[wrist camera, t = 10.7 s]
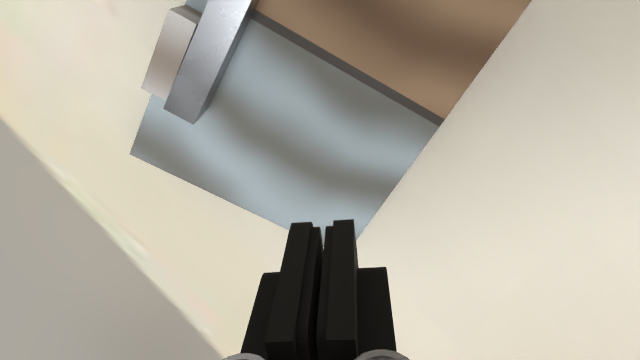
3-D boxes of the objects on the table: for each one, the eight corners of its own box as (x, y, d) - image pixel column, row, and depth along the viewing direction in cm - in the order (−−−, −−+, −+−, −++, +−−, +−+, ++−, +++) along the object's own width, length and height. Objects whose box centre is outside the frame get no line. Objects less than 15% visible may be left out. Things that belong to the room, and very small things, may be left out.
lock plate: (262, -183, 22) (246, -216, 18) (524, -6, 26) (558, 0, 22) (138, 146, 32) (109, 172, 28) (344, 245, 35) (344, 281, 31)
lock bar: (272, -141, 22) (263, -157, 19) (318, -109, 22) (316, -120, 20) (174, 92, 28) (155, 106, 25) (212, 112, 28) (198, 129, 26)
